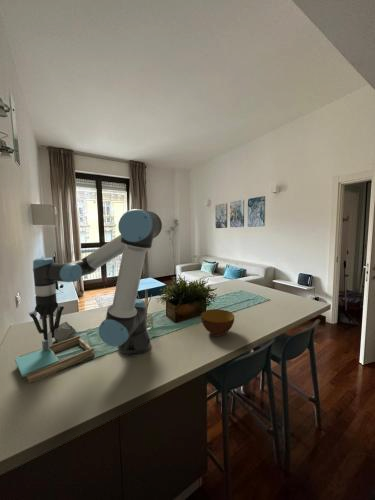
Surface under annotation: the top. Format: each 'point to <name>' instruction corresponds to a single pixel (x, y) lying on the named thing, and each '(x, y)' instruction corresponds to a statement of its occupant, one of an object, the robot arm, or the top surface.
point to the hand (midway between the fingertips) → (49, 345)
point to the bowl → (217, 321)
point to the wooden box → (62, 363)
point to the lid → (36, 360)
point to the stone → (64, 332)
